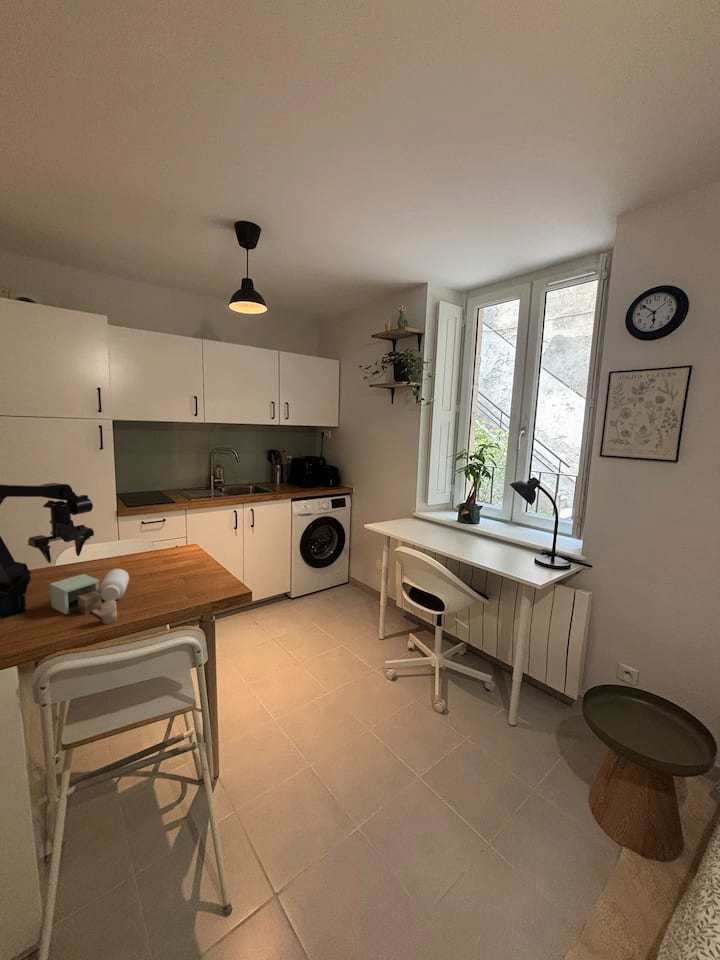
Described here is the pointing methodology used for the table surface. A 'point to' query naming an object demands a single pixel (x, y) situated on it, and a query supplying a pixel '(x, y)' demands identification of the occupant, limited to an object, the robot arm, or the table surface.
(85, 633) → the table surface
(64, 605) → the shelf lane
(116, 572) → the pill bottle
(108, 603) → the beige dumbbell
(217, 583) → the table surface
